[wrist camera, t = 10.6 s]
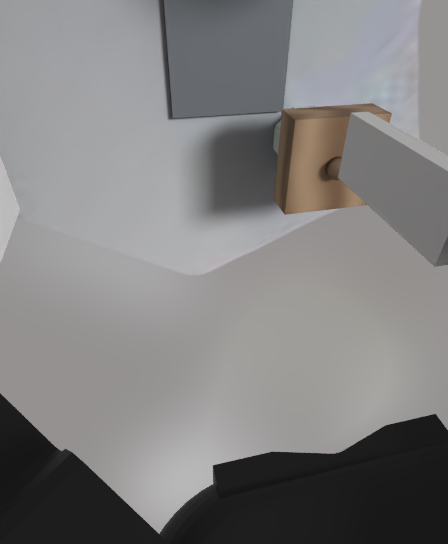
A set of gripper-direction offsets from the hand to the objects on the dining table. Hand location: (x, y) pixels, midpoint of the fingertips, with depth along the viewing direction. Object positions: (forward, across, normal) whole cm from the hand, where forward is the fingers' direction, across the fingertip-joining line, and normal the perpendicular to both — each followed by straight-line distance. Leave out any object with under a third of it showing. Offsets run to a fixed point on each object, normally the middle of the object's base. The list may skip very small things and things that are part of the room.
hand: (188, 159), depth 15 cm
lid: (+28, +20, -12) cm, 36 cm away
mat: (+35, +10, -2) cm, 36 cm away
